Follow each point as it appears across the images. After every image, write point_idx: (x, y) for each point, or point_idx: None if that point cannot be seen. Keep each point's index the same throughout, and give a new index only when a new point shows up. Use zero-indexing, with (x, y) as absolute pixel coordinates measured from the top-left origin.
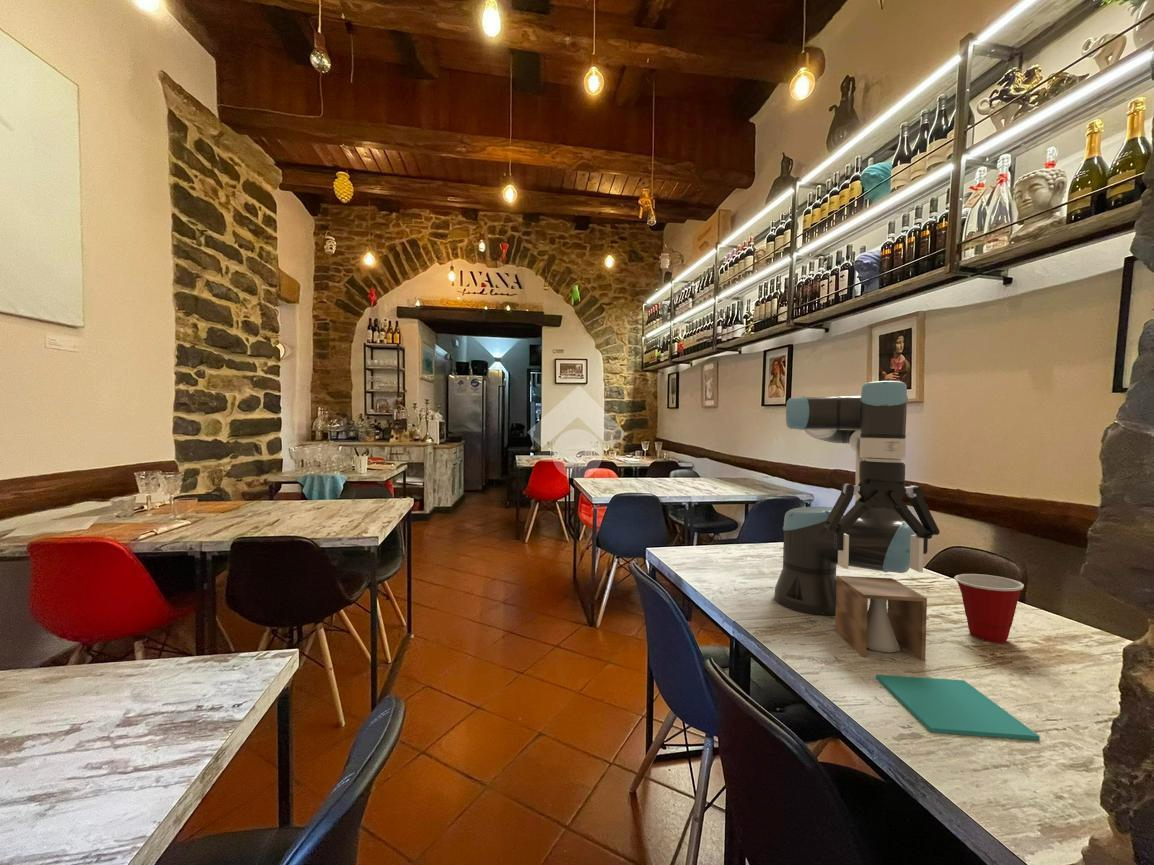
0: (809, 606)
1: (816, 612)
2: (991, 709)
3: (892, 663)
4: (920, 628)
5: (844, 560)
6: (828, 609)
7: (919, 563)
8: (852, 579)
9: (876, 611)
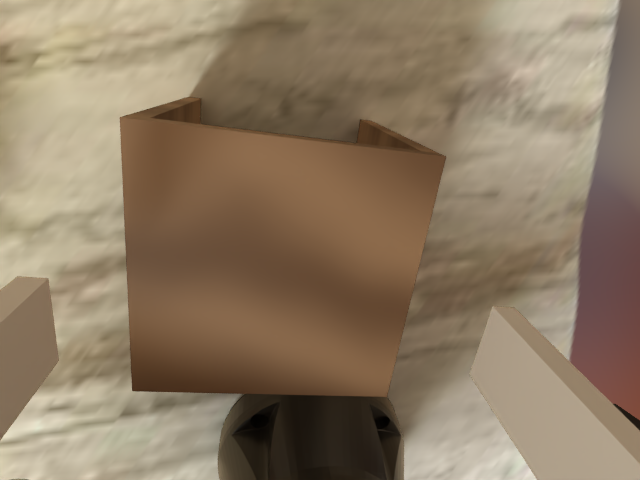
0: None
1: None
2: None
3: (306, 80)
4: (180, 117)
5: (542, 338)
6: None
7: (6, 311)
8: (347, 357)
9: None
